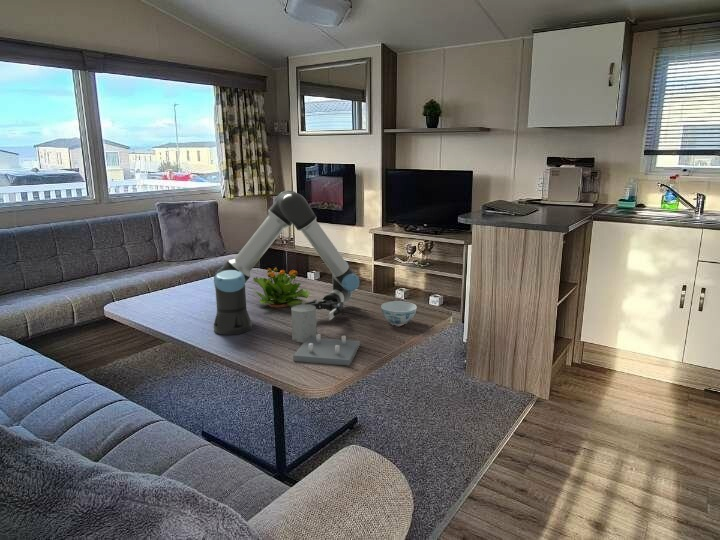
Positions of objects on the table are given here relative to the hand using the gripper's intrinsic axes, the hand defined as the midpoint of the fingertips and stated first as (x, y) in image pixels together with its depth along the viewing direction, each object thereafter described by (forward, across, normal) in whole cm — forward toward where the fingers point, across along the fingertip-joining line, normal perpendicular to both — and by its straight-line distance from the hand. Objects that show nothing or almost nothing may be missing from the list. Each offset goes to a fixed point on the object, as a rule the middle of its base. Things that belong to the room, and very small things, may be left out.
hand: (314, 314), depth 201 cm
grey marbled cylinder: (+9, 0, -7) cm, 12 cm away
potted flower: (-26, +31, -7) cm, 41 cm away
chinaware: (-18, -31, -7) cm, 37 cm away
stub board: (+21, -14, -6) cm, 26 cm away
